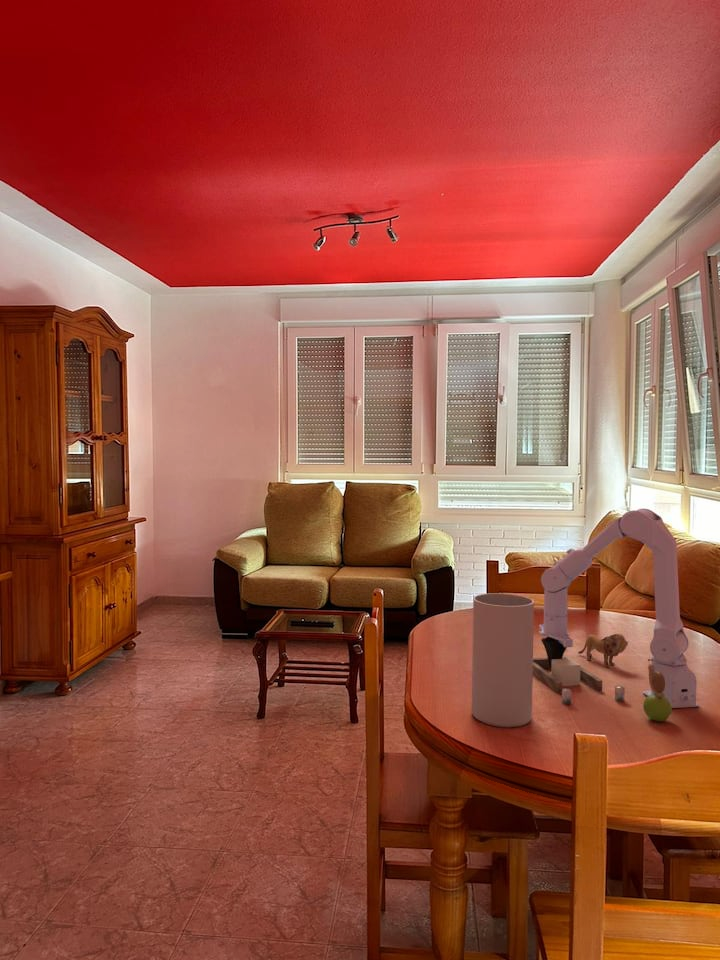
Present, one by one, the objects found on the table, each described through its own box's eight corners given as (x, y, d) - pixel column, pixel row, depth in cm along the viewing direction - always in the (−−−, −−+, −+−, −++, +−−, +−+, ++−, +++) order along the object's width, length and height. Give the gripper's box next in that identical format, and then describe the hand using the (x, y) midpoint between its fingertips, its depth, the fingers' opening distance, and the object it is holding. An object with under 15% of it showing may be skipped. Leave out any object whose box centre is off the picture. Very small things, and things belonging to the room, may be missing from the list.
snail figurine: (660, 713, 138) (662, 658, 138) (676, 725, 132) (678, 668, 131) (636, 713, 138) (637, 658, 137) (650, 725, 131) (652, 667, 131)
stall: (602, 690, 151) (602, 680, 151) (557, 693, 149) (557, 682, 149) (564, 666, 169) (565, 656, 169) (524, 668, 167) (524, 658, 167)
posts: (626, 701, 144) (626, 688, 144) (564, 705, 142) (564, 691, 142) (621, 698, 146) (621, 685, 146) (560, 701, 144) (560, 688, 144)
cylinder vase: (459, 715, 135) (461, 599, 135) (492, 700, 144) (494, 591, 143) (510, 734, 126) (513, 609, 126) (542, 717, 135) (545, 600, 134)
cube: (579, 685, 155) (580, 665, 155) (560, 686, 154) (561, 665, 154) (569, 678, 160) (570, 658, 160) (551, 679, 159) (551, 659, 159)
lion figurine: (630, 667, 168) (631, 634, 168) (618, 671, 165) (619, 637, 165) (583, 653, 181) (584, 622, 180) (571, 656, 178) (572, 624, 177)
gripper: (528, 608, 169) (527, 659, 169) (554, 622, 155) (553, 677, 155) (553, 607, 170) (552, 658, 170) (581, 621, 156) (579, 676, 156)
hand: (554, 667), depth 163 cm, fingers closed
